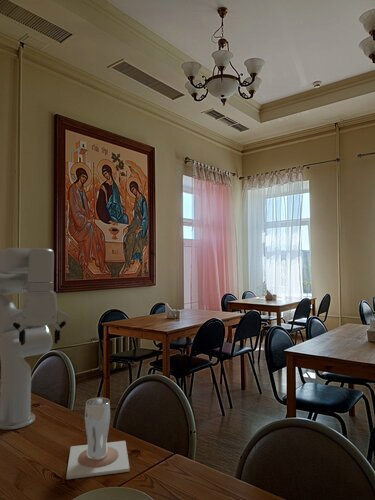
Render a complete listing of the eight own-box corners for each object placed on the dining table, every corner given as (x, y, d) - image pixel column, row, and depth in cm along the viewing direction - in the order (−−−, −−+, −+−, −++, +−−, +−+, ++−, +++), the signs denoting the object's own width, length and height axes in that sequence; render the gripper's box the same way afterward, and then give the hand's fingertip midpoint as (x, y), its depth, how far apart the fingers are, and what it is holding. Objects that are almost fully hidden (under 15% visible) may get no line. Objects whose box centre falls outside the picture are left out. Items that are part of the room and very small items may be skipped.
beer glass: (79, 458, 104) (79, 403, 104) (95, 447, 110) (96, 395, 111) (99, 464, 101) (99, 407, 101) (114, 452, 107) (115, 399, 108)
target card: (70, 449, 111) (70, 445, 111) (125, 443, 115) (125, 439, 115) (66, 479, 96) (66, 474, 96) (129, 471, 99) (129, 467, 99)
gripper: (7, 289, 111) (6, 347, 110) (68, 288, 115) (68, 344, 114) (13, 287, 118) (12, 342, 117) (70, 286, 122) (69, 339, 121)
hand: (39, 343), depth 116 cm, fingers open, 9 cm apart
